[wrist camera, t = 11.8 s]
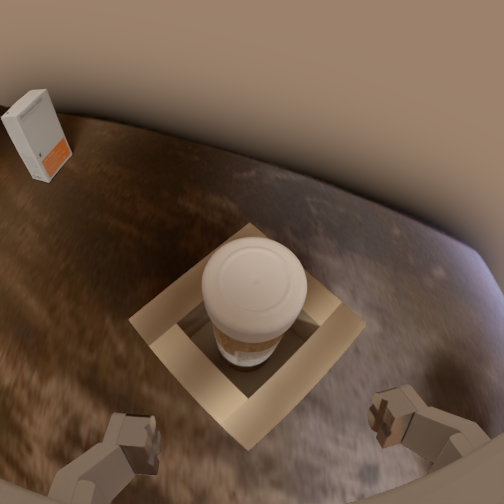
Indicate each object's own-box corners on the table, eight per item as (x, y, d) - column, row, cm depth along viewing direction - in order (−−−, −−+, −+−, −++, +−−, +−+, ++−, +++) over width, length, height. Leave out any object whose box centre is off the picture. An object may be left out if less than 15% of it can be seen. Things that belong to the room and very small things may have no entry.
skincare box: (50, 184, 34) (14, 117, 24) (33, 179, 34) (-2, 117, 24) (74, 153, 37) (47, 87, 26) (56, 150, 37) (29, 89, 27)
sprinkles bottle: (214, 324, 25) (195, 238, 13) (267, 317, 26) (295, 227, 14) (221, 377, 23) (206, 340, 11) (277, 369, 23) (321, 322, 12)
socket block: (150, 340, 25) (128, 319, 20) (247, 258, 30) (249, 222, 24) (245, 441, 21) (247, 450, 16) (341, 343, 26) (366, 324, 20)
